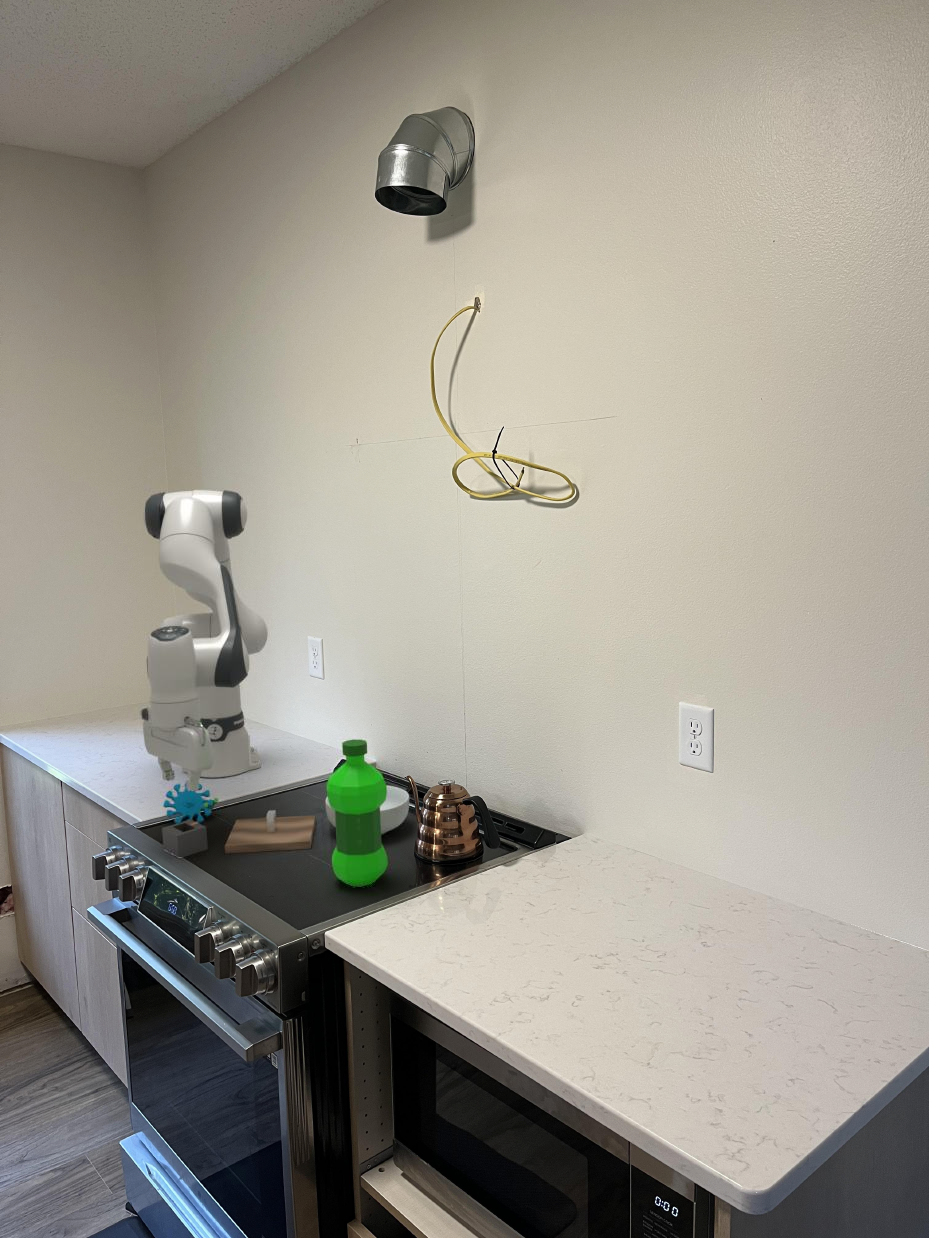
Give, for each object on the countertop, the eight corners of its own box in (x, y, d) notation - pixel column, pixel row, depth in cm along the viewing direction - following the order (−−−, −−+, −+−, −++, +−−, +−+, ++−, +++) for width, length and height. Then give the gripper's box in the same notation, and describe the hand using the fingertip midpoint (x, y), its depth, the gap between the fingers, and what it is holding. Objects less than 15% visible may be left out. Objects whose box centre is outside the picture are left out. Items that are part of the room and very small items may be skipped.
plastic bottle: (337, 868, 166) (331, 734, 163) (395, 869, 165) (390, 734, 161) (323, 893, 156) (316, 751, 153) (384, 894, 155) (379, 751, 152)
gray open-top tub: (163, 850, 177) (161, 826, 176) (192, 841, 181) (190, 818, 180) (178, 858, 173) (177, 834, 172) (207, 849, 177) (206, 825, 176)
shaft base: (237, 826, 188) (236, 819, 188) (315, 822, 190) (315, 815, 189) (225, 853, 174) (224, 845, 174) (310, 848, 176) (309, 841, 176)
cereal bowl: (388, 851, 174) (387, 815, 173) (311, 841, 180) (309, 806, 178) (423, 820, 189) (422, 787, 188) (351, 811, 195) (349, 779, 194)
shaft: (269, 827, 183) (268, 810, 183) (276, 827, 183) (275, 810, 183) (267, 832, 180) (266, 815, 180) (274, 832, 180) (273, 815, 180)
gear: (164, 823, 186) (164, 779, 192) (161, 836, 191) (161, 793, 196) (219, 822, 190) (218, 779, 196) (215, 835, 195) (214, 792, 201)
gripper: (219, 718, 168) (223, 792, 169) (166, 703, 182) (170, 770, 184) (187, 725, 163) (192, 800, 165) (135, 708, 178) (140, 778, 179)
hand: (180, 784), depth 175 cm, fingers open, 8 cm apart
